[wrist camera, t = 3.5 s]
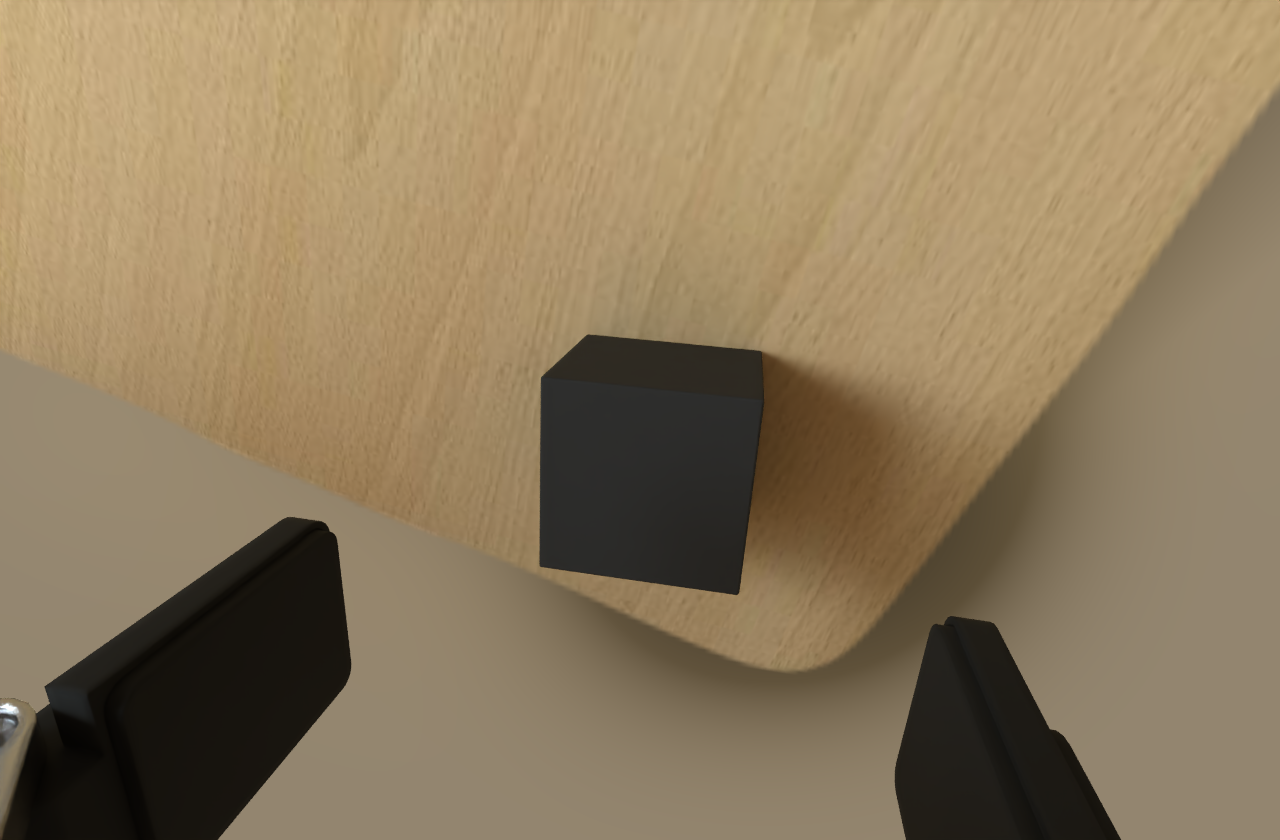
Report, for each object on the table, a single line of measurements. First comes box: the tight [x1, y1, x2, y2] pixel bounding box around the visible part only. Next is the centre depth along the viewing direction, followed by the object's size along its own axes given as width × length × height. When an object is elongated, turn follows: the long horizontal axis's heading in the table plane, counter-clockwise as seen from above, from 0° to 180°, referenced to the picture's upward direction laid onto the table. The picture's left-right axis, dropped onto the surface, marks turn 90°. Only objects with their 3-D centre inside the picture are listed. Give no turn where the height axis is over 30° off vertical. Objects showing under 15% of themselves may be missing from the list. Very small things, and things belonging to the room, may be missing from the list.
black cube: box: [540, 335, 764, 595], centre depth 18 cm, size 5×5×4 cm
